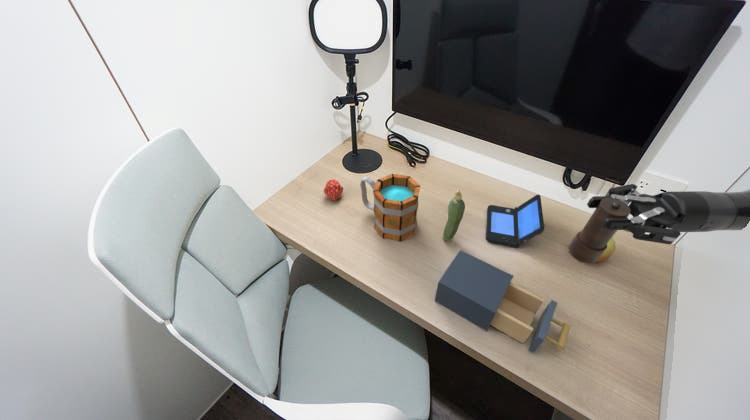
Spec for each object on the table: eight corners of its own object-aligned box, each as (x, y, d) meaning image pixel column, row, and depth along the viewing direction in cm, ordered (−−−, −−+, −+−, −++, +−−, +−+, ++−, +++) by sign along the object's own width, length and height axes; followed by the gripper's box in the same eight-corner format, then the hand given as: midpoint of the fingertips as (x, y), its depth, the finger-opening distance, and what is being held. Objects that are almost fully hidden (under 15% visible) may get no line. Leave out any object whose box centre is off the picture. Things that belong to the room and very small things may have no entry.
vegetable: (448, 232, 95) (459, 180, 81) (459, 240, 93) (473, 189, 79) (438, 239, 93) (448, 188, 79) (449, 248, 91) (462, 196, 77)
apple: (567, 236, 93) (579, 217, 88) (604, 245, 90) (619, 226, 85) (568, 261, 87) (580, 242, 81) (608, 272, 84) (624, 253, 78)
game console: (486, 207, 103) (493, 185, 96) (530, 214, 100) (540, 192, 93) (485, 242, 92) (492, 221, 85) (533, 252, 89) (545, 230, 83)
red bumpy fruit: (327, 205, 108) (324, 185, 111) (346, 201, 108) (343, 181, 111) (322, 198, 102) (320, 177, 105) (342, 194, 102) (339, 173, 105)
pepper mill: (604, 260, 65) (644, 210, 55) (580, 266, 64) (616, 216, 54) (585, 240, 69) (619, 190, 59) (562, 245, 68) (593, 195, 58)
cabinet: (503, 295, 80) (513, 275, 74) (486, 331, 73) (495, 313, 67) (454, 269, 85) (460, 249, 79) (434, 300, 79) (438, 281, 73)
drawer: (565, 326, 72) (578, 312, 68) (553, 365, 66) (566, 352, 62) (495, 290, 80) (502, 274, 75) (478, 322, 74) (485, 307, 69)
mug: (425, 221, 99) (430, 184, 88) (402, 249, 91) (404, 212, 80) (375, 197, 107) (374, 161, 97) (349, 220, 99) (345, 184, 89)
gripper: (676, 171, 60) (587, 173, 61) (738, 226, 50) (629, 227, 50) (653, 200, 66) (571, 201, 66) (705, 255, 55) (606, 256, 56)
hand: (597, 212), depth 58 cm, fingers closed on pepper mill, 5 cm apart
